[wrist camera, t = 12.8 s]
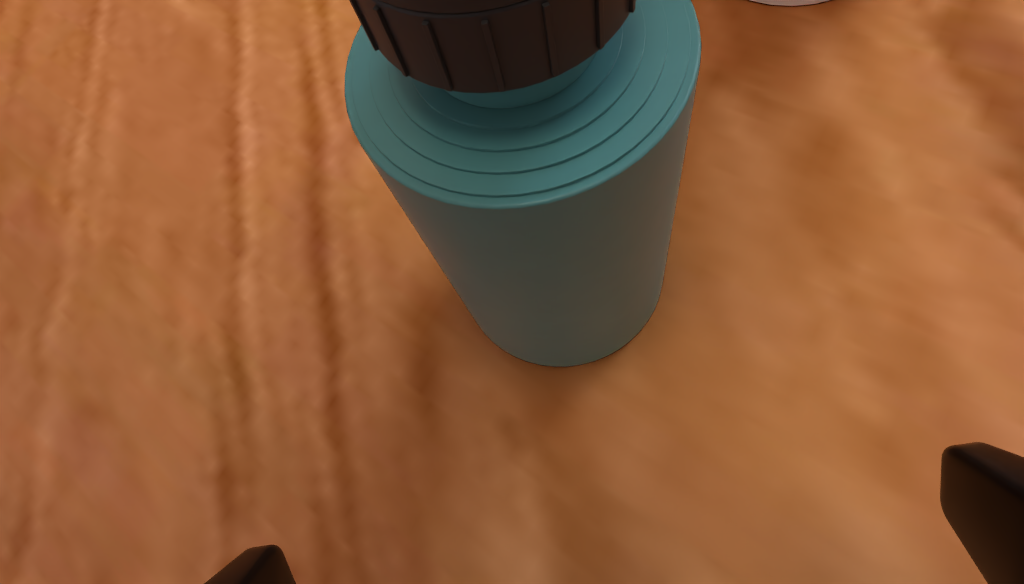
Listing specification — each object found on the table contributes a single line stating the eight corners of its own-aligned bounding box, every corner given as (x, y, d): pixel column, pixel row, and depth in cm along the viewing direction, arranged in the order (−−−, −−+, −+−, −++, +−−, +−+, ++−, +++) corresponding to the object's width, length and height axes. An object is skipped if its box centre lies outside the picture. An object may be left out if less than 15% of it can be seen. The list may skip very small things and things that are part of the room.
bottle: (610, 402, 17) (596, 159, 6) (429, 316, 19) (173, 11, 8) (694, 225, 19) (803, -219, 8) (521, 161, 21) (410, -268, 10)
